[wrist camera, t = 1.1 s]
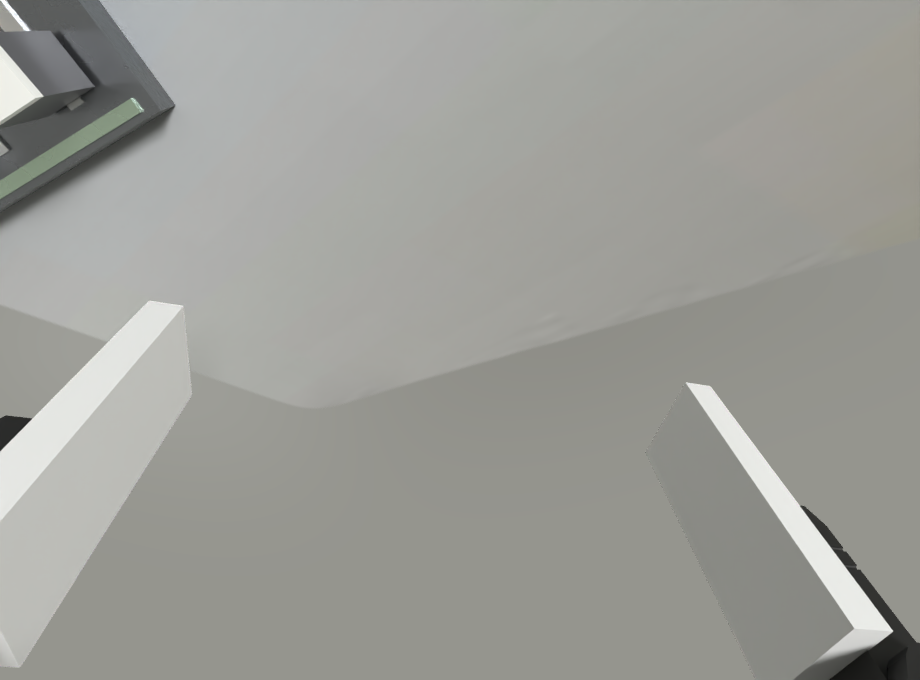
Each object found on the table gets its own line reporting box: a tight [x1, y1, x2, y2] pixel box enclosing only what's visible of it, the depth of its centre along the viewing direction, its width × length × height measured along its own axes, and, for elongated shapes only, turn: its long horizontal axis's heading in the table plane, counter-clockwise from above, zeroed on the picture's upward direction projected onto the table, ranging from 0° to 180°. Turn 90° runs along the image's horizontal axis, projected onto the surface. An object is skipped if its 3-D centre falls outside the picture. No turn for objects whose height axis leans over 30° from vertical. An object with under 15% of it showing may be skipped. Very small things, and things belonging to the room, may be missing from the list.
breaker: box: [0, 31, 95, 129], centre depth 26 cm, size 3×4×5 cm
